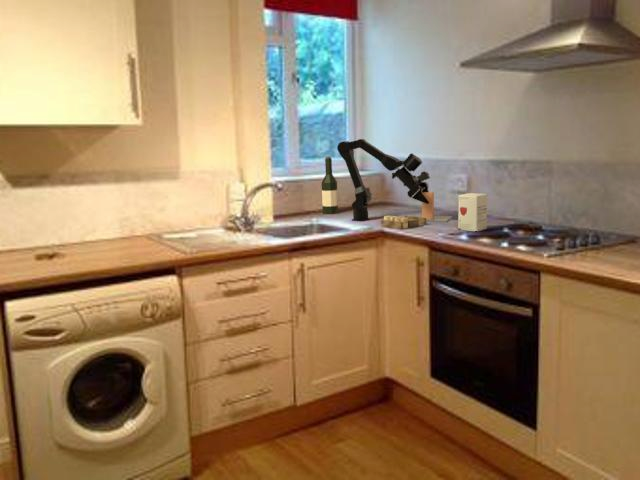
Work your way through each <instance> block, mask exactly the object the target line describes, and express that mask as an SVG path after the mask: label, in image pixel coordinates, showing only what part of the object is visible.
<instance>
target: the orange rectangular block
mask: <svg viewBox="0 0 640 480" xmlns="http://www.w3.org/2000/svg"><path fill="white" fill-rule="evenodd" d="M423 194H424V196H425V197H426V199H427V200H428V201H429V203H428V204H426V203H423V202H421V216H422V218H426V219H433V218H434V216H435V192H433V191H432V192H431V191H429V192H423Z"/></svg>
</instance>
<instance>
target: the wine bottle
mask: <svg viewBox="0 0 640 480" xmlns="http://www.w3.org/2000/svg"><path fill="white" fill-rule="evenodd" d="M324 161H325V163H324V165H325V175H324V177H323V179H322V181H321V195H322V196H321V201H322V214H323V215H335V214H338V213H339V201H338V200H339V198H338V196H339V195H338V180H337V179H336V178H335V176H334V175H333V165H332V163H333V162H332V158H331V156H326V157H325V159H324Z"/></svg>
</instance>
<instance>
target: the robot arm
mask: <svg viewBox="0 0 640 480" xmlns="http://www.w3.org/2000/svg"><path fill="white" fill-rule="evenodd" d="M336 147H337V148H336V149H337V151H338V153H339V156H340V157H341V158H342V160H344V163H345V165H346V167H347V170H348V173H349V176H350V178H351V182H352V184H353V187H354V196H355V200H354V201H353V202H352V203H351V208H352V212H353V213H352V214H353V215H352V217H353V218H351V221H356V220H357V221H356V222H362V221H363V222H365V221H369V220H370V218H369V210H368V205H369V203H370V202H371V201H372V195H373V193H371V190H370V187H366V186H365V185H364V182H363V179H362V176H361V174H360V171H359V169H358V166H357V163H356V160H355V150H356V149H361V150H363V151H364V152H366V153H367V154H369V155H370V156H371V157H373V158H374V159H376V160H377V161H379V162H380V163H381V165H382V166H383V167H384V168H385V169H386V170H388V171H391V172H392V173H391V180H393V179H396V178H397V179H399V181H400V182H402V184H403V186H404V187H406V188H407V189H408V191H407V196H408V198H411V199H412V200H413V199H414V200H417V201H419V202H421V203H422V202H423V203H426V204H428V203H429V201H428V200H427V199H426V197H425V196H424V194H423V192H430V191H429V183H428V182H427V181H426V180H428V179H431V177H430V173H428V171H427V172H426V170H425V171H422V172H421V173H420V174H419V175H414V174H412V173H411V172H415V171H416V170H417V169H418V168H419V167H420V166H421V165H422V164H423V161H422V160H421V158H420V157H419V156H417V155H415V154H414V153H410V154H409V155H408V156H407V157H406V159H405V160H400V159H398V158H397V157H395V156H393V155H390V154H387V153H385V152H383V151H382V150H380V149H379V148H378V147H376V146H375V145H373V144H371V143H369V142H368V141H367V140H365V139H364V138H360V139H357V140H352V141H348V140H347V141H340V142H339V143H338V145H337V146H336ZM393 171H395V172H393Z"/></svg>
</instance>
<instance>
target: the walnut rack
mask: <svg viewBox="0 0 640 480" xmlns="http://www.w3.org/2000/svg"><path fill="white" fill-rule="evenodd" d="M413 216H414V215H404V217H406V218H408V228H406V229H405V230H407V229H412V228H417V227H421V226H427V222H426V218H422V217H413ZM381 228H388V229H393V230H394V229H395V230H404V229H403V222H396V221H388V220H384V219H381Z"/></svg>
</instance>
